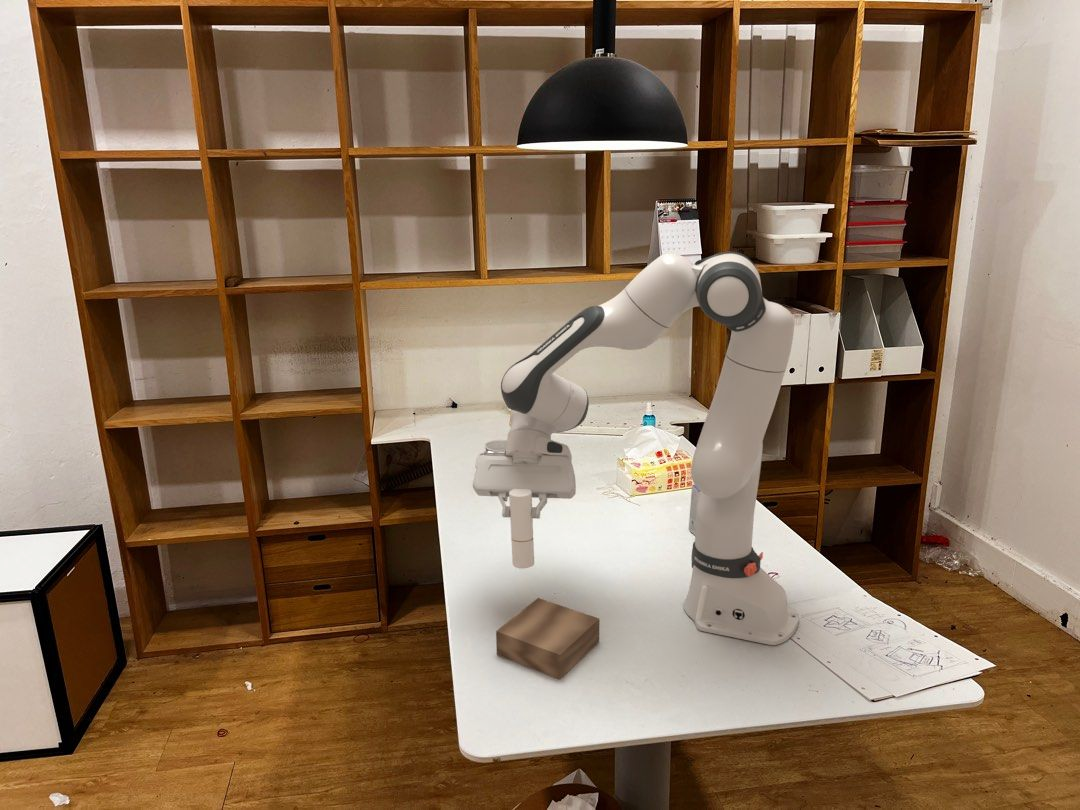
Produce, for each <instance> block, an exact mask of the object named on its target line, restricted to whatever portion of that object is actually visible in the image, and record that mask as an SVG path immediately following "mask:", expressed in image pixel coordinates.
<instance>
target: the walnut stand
mask: <svg viewBox="0 0 1080 810" xmlns="http://www.w3.org/2000/svg"><path fill="white" fill-rule="evenodd" d="M600 620H601V618H599V617H596V616H594V615H591V614H587V613H585V612H581V611H578V610H575V609H573V608H569V607H568V606H565V605H564V606H563V605H560V604H558V603H555V602H552V601H549V600H546V599H543V598H539V597H537V598H536V599H535V600H533V601H532V602H531V603H530V604H528V605H527V606H525V608H524V609H522V610H521V611H519V613H517V614H516V615H514V616H513V617H512V618H511V619H510V620H508V621H507V622H506V623H505V624H503V625H501V627H499V628H498V629H497V630H495V639H496V655H497V656H499V657H502V658H505V659H507V660H509V661H512V662H515V663H517V664H519V665H522V666H526V667H528V668H530V669H533V670H535V671H537V672H540V673H543V674H545V675H548V676H550V677H553V678H555V679H559V680H561V679H562V678H563V677H565V676H566V674H568V672H570V670H572V668H574V667H575V665H577V664H578V663H579V662H580V661H581V660H582V659H583V658H584V657H585V656H586V655H587V654H588V653H589V652H590V651H592V649H593V648H594V647H596V646H597V644H598V643H600Z"/></svg>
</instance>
